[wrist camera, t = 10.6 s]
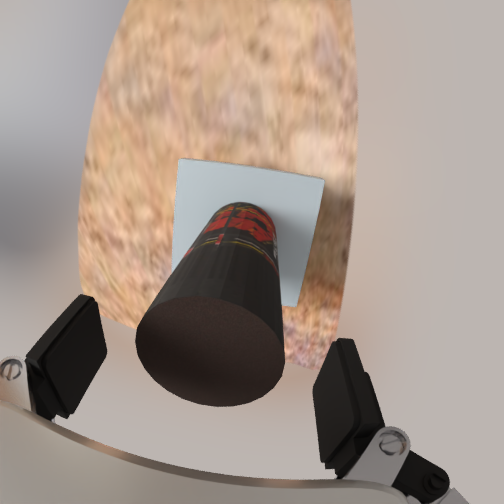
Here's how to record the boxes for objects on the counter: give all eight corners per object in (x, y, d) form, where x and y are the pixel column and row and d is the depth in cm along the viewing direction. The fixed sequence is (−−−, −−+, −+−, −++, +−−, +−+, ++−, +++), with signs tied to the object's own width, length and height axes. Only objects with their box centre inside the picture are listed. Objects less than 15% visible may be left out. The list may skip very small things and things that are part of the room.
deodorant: (289, 247, 24) (310, 380, 10) (231, 279, 26) (196, 417, 12) (252, 188, 23) (226, 265, 9) (193, 225, 24) (108, 332, 10)
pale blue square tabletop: (198, 154, 29) (178, 159, 22) (311, 171, 29) (325, 180, 22) (189, 258, 33) (171, 287, 27) (290, 274, 33) (296, 307, 27)
